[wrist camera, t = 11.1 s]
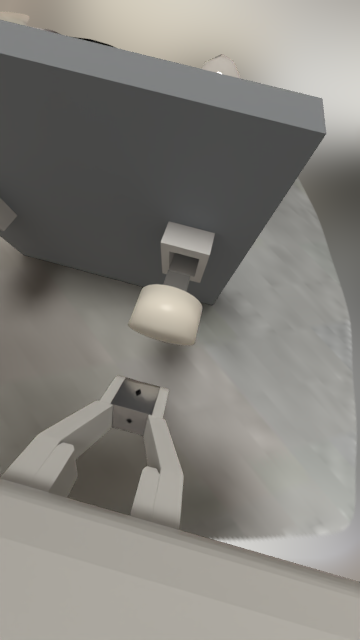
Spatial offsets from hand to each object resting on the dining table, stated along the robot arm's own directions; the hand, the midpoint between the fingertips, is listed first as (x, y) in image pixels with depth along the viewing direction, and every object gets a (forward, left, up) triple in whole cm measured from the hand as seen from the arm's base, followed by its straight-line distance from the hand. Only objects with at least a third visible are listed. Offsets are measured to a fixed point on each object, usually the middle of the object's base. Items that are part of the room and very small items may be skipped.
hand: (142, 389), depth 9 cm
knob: (+3, +4, -2) cm, 6 cm away
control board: (0, +15, -9) cm, 18 cm away
